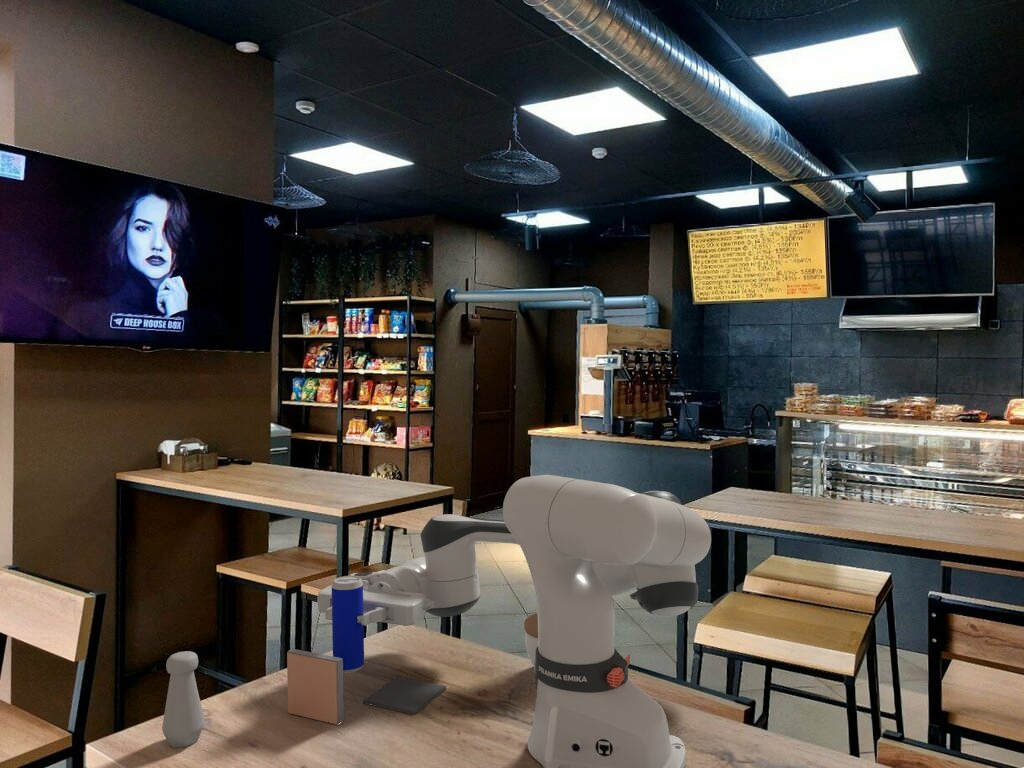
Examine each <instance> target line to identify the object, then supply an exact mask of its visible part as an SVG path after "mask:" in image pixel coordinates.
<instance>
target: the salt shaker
mask: <svg viewBox="0 0 1024 768" xmlns="http://www.w3.org/2000/svg"><path fill="white" fill-rule="evenodd" d="M165 664H166V665H165V666H166V667H165V669H166V671H167V673H168V674H170V677H169V683H168V688H167V695H166V702H165V707H164V713H163V714H164V715H163V721H162V726H161V729H162V734H163V736H164V737H165V739H166V741H167V744H168V745H170V746H171V747H172V748H173V749H175V748H176V749H177V748H187V747H190V746H191V745H193V744H195V743H197V742H198V741H199V739H200V735H201V733H202V731H203V728H204V727H205V724H206V723H205V722H206V719H205V715H204V711H203V706H202V703H201V698H200V695H199V690H198V687H197V686H198V685H197V681H196V677H195V670H196V669H197V668H198V666H199V657H198V654H197V653H196V652H194V651H191V650H189V651H188V650H187V651H177V652H175V653H173V654H171V655H170V656H169V657H168V658H167V660H166V663H165Z"/></svg>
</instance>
